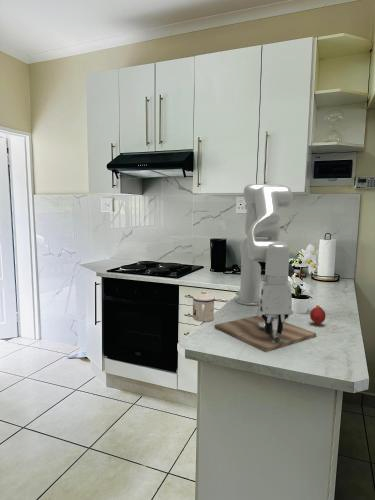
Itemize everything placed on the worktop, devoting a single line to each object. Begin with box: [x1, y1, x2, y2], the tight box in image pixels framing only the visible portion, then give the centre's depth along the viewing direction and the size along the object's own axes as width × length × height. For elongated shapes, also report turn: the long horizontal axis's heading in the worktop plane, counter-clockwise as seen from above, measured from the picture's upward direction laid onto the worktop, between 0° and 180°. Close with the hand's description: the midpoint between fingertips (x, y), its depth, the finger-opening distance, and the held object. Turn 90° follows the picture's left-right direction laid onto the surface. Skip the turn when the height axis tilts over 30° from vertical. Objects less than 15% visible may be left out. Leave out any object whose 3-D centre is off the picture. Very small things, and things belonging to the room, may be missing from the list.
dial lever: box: [259, 315, 280, 341], centre depth 119 cm, size 15×4×7 cm, turn 7°
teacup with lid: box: [192, 290, 216, 323], centre depth 137 cm, size 12×9×12 cm
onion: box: [309, 304, 327, 325], centre depth 135 cm, size 6×6×8 cm
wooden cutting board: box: [214, 314, 317, 353], centre depth 125 cm, size 26×26×1 cm
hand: (273, 332), depth 116 cm, fingers closed on dial lever, 3 cm apart
